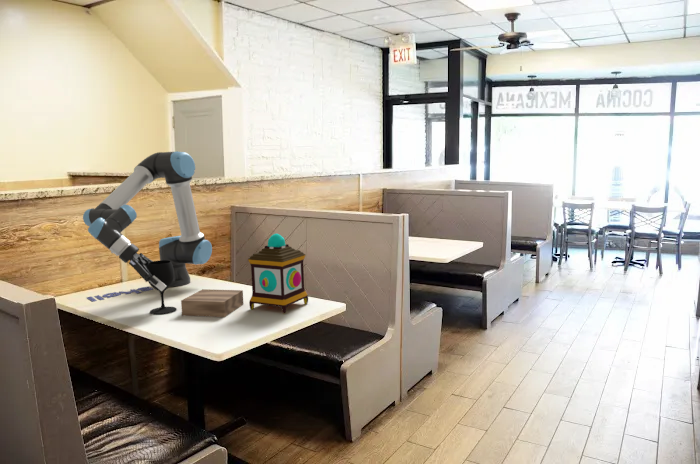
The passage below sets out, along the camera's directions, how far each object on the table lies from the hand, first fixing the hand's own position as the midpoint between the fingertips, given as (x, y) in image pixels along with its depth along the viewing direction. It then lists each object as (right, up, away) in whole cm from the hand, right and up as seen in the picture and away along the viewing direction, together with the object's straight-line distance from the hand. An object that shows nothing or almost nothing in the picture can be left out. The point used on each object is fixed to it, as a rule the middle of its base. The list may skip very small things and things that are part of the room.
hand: (167, 285), depth 220 cm
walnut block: (+18, -10, +1) cm, 21 cm away
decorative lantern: (+44, -9, +4) cm, 46 cm away
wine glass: (-2, -11, +1) cm, 11 cm away
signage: (-31, -8, +32) cm, 45 cm away
